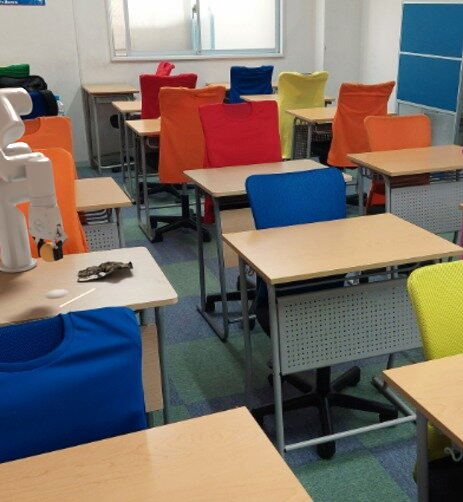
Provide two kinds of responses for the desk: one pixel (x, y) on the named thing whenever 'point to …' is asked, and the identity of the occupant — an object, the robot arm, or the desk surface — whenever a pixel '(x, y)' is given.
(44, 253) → the ball
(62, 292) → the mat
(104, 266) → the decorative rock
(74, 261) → the desk surface
